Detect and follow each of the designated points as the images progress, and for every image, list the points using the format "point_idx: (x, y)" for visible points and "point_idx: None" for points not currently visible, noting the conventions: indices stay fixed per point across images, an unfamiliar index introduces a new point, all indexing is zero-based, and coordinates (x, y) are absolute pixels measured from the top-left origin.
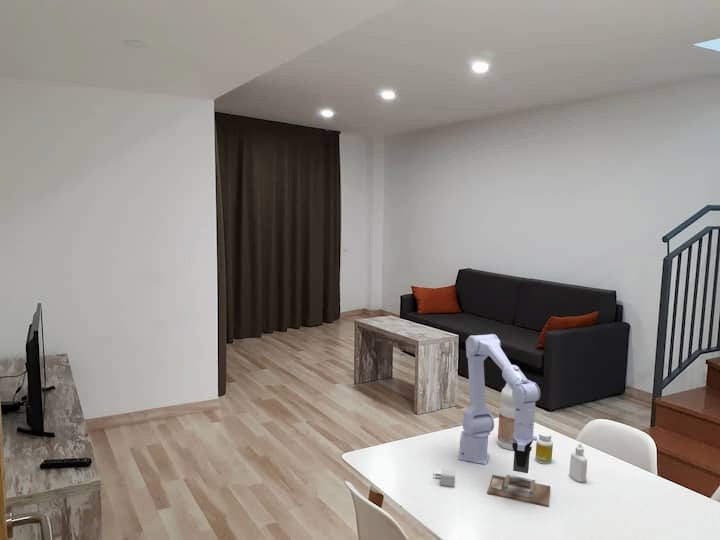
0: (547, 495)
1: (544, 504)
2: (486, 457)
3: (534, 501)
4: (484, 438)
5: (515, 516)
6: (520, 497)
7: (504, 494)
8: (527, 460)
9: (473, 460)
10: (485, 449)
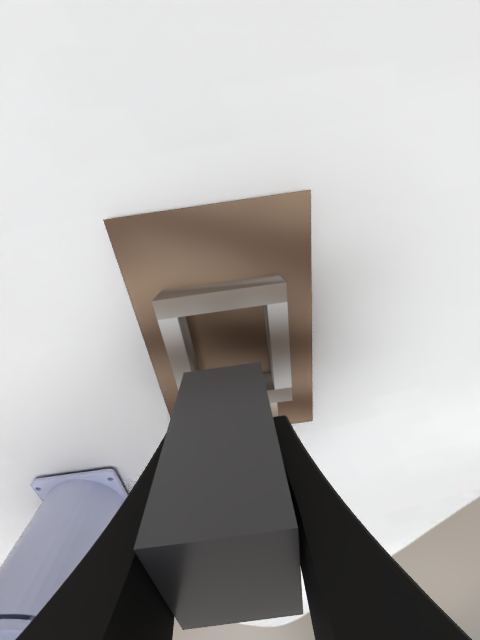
0: (214, 216)
1: (309, 214)
2: (74, 485)
3: (305, 263)
4: (37, 611)
5: (430, 305)
6: (298, 322)
7: (301, 375)
8: (278, 455)
9: (122, 500)
10: (64, 530)
